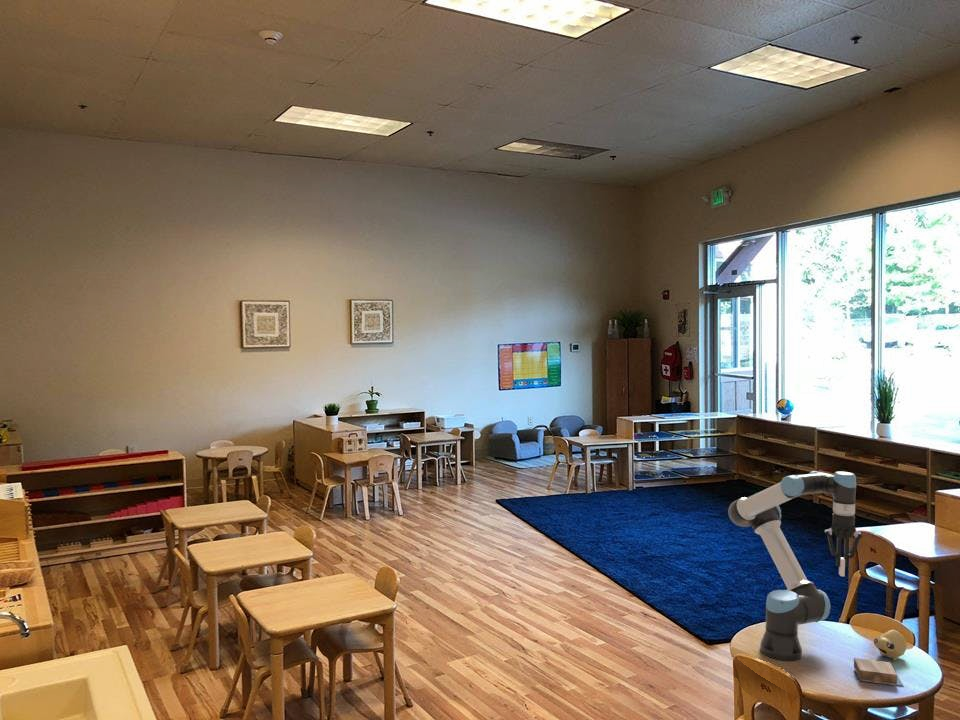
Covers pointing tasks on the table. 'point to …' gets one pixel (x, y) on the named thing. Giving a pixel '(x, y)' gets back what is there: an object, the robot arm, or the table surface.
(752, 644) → the table surface
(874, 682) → the mat
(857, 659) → the brown flat block
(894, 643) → the beige rounded lump
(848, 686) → the table surface
